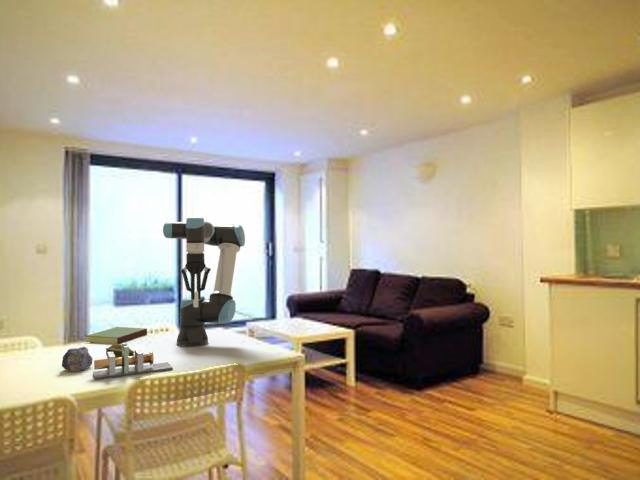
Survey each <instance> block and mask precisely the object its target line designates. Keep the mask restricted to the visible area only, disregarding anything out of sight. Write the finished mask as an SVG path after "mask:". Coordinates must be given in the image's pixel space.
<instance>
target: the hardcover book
mask: <svg viewBox="0 0 640 480" xmlns="http://www.w3.org/2000/svg"><path fill="white" fill-rule="evenodd" d="M146 335H148V328H145V327H144V328H143V327H127V326H126V327H123V326H115V327H112V328H107V329H106V330H101V331H97V332H94V333H91V334H87V335H86V343H95V344H98V343H99V344H112V345H121V344H122V343H127V342H129V341H131V340H135V339H137V338H141V337H143V336H146Z"/></svg>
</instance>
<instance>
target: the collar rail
mask: <svg viewBox="0 0 640 480" xmlns="http://www.w3.org/2000/svg"><path fill="white" fill-rule="evenodd" d="M121 345H122V357H124V366H123V367H120V368H119V367H117V368H116V367H115V355H114V353H113V352H107V355H106V357H107V358H106V359H109V368H106V369H101V370H96V371H95V370H94V371H92V376H93V381H102V380H107V379H109V380H110V379H116V378H123V377H131V376H139V375H146V374H153V373H161V372H167V371H169V372H170V371H173V366H172V365H171V364H170V363H169V362H159V363H153V365H150V364H143V355H144V352H143V351H142V349H141V348H135V349H134V356H136V355H137V365H133V366H130V365H129V349H130V346H129V345H128V343H127V342H123V343H121Z"/></svg>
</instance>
